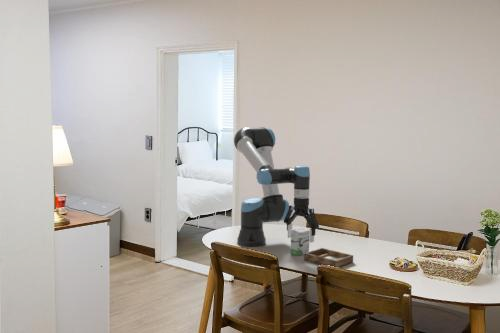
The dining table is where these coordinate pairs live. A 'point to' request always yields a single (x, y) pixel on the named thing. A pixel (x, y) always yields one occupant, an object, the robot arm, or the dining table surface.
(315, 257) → the walled box
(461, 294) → the dining table surface
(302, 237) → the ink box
